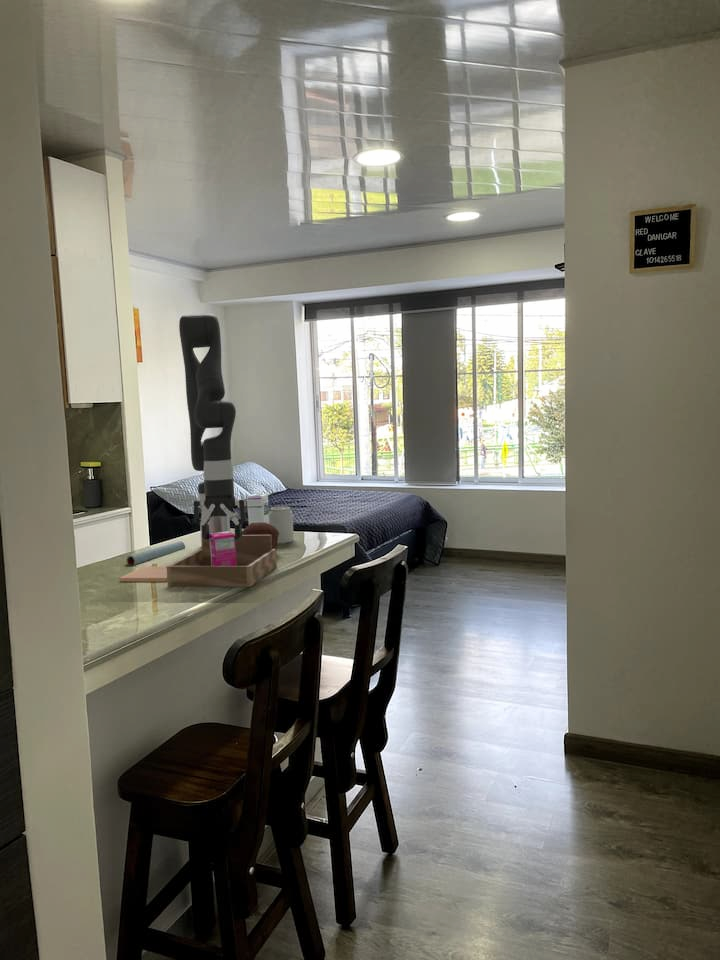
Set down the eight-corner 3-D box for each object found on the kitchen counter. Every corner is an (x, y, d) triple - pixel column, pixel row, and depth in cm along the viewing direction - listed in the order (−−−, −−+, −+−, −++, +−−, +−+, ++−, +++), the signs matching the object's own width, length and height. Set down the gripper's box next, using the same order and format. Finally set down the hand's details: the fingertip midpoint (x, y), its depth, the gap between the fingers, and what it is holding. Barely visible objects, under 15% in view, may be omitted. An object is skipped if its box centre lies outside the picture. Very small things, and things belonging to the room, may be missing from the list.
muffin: (234, 560, 217) (232, 526, 216) (250, 552, 228) (249, 520, 227) (272, 561, 214) (270, 526, 213) (286, 553, 224) (285, 520, 223)
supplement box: (211, 575, 198) (208, 533, 197) (233, 572, 201) (230, 530, 199) (215, 579, 193) (213, 536, 192) (238, 576, 195) (235, 533, 194)
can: (273, 542, 243) (272, 505, 242) (296, 541, 242) (294, 505, 241) (267, 546, 236) (265, 509, 235) (290, 546, 235) (289, 508, 234)
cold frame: (201, 566, 209) (199, 535, 209) (276, 566, 205) (275, 534, 205) (167, 586, 188) (165, 550, 187) (251, 586, 184) (249, 550, 183)
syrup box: (265, 538, 252) (263, 495, 250) (248, 538, 253) (246, 495, 251) (270, 535, 257) (268, 493, 256) (254, 535, 258) (252, 493, 257)
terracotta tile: (142, 570, 208) (142, 566, 208) (186, 570, 206) (186, 566, 205) (119, 581, 195) (119, 577, 195) (166, 581, 193) (166, 577, 193)
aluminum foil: (177, 551, 236) (176, 540, 236) (194, 552, 234) (193, 541, 233) (126, 566, 216) (125, 555, 216) (144, 567, 213) (143, 556, 213)
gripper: (249, 475, 196) (252, 536, 198) (198, 476, 199) (202, 536, 200) (239, 478, 189) (243, 541, 190) (187, 479, 192) (190, 541, 193)
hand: (222, 538), depth 195 cm, fingers open, 8 cm apart
